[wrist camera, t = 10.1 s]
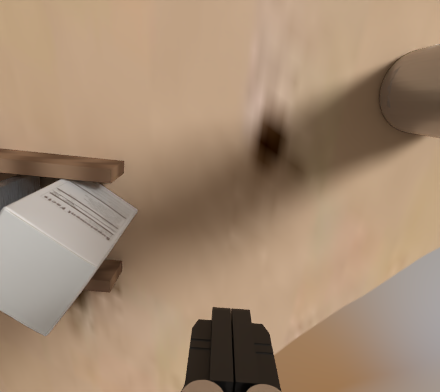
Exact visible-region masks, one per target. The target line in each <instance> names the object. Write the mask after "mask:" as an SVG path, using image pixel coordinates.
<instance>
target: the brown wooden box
mask: <svg viewBox="0 0 440 392" xmlns="http://www.w3.org/2000/svg"><path fill="white" fill-rule="evenodd" d="M0 172H1V173H11V174H21V175H31V176H42V177H52V178H62V179H72V180H82V181H93V182H103V183H112V182H113V181H114V180H116V179H117V178H118V177H119V176H121V175H122V174H123V173H124V161H117V160H107V159H98V158H88V157H78V156H68V155H58V154H48V153H38V152H28V151H18V150H8V149H0ZM121 272H122V261H116V260H104V261H103V263H102V264H101V265H100V267H99V268H98V270H97V271H96V272H95V274H94V275H93V277H92V278H91V279H90V281H89V282H88V283H87V285H86V286H85V288H84V289H83V290H89V291H101V292H110V291H111V289H112V288H113V286H114V284H115V282H116V280H117V279H118V277H119V275H120V273H121Z"/></svg>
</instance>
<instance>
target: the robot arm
mask: <svg viewBox="0 0 440 392" xmlns="http://www.w3.org/2000/svg"><path fill="white" fill-rule="evenodd" d="M380 107H381V110H382V113H383V115H384V117H385V118H386V120H387V121H388V122H389V123H390V124H391V125H392V126H393V127H395V128H396V129H398V130H400V131H403V132H407V133H413V134H419V135H425V136H430V137H436V138H440V44H438V45H434V46H430V47H426V48H422V49H418V50H415V51H412V52H410V53H408V54H406V55H404V56H402V57H401V58H400V59H399V60H398V61H396V62H395V63H394V64H393V65H392V67H391V68H390V69H389V70H388V72H387V74H386V76H385V77H384V79H383V82H382V85H381V89H380ZM181 392H281V388H280V384H279V379H278V374H277V369H276V364H275V359H274V355H273V349H272V346H271V339H270V334H269V332H268V331H267V330H266V328H265V327H264V326H263V324H254V323H251V315H250V310H244V309H230V308H217V307H213V309H212V320H200V319H199V320H198V321H197V322H196V324H195V325H194V326H193V328H192V334H191V342H190V349H189V357H188V364H187V372H186V380H185V385H184V387H183V389H182V391H181Z"/></svg>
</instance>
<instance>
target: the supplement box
mask: <svg viewBox="0 0 440 392" xmlns="http://www.w3.org/2000/svg"><path fill="white" fill-rule="evenodd" d="M137 212H138V210H137V209H136V208H135V207H133V206H132V205H130V204H129V203H127V202H126V201H124V200H123V199H122V198H120V197H119V196H117V195H116V194H114V193H113V192H111V191H110V190H108V189H107V188H105V187H104V186H102V185H101V184H99V183H98V182H93V181H82V180H72V179H60V180H58V181H56V182H54V183H52V184H50V185H48V186H46V187H44V188H42V189H40V190H38V191H36V192H34V193H32V194H30V195H28V196H26V197H24V198H21V199H19V200H17V201H15V202H13V203H11V204H9V205H7V206H5V207H3V209H2V210H1V212H0V311H2V312H4V313H5V314H7V315H9V316H10V317H12V318H14V319H15V320H17V321H19V322H20V323H22V324H24V325H25V326H27V327H29V328H30V329H32V330H34V331H36V332H38V333H40V334H42V335H44V336H47V335H48V334H49V333H50V332H51V330H52V329H53V328H54V326H55V325H56V324H57V323H58V321H59V320H60V319H61V318H62V316H63V315H64V314H65V313H66V311H67V310H68V309H69V307H70V306H71V305H72V304H73V302H74V301H75V300H76V298H77V297H78V296H79V294H80V293H81V292H82V290H83V289H84V288H85V286H86V285H87V283H88V282H89V281H90V279H91V278H92V277H93V275H94V274H95V272H96V271H97V270H98V268H99V267H100V265H101V264H102V263H103V261H104V260H105V258H106V257H107V255H108V254H109V253H110V251H111V250H112V248H113V247H114V245H115V244H116V242H117V241H118V239H119V238H120V237H121V235H122V234H123V232H124V231H125V229H126V228H127V226H128V225H129V223H130V222H131V220H132V219H133V217H134V216H135V215H136V213H137Z"/></svg>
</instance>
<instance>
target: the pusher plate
mask: <svg viewBox="0 0 440 392" xmlns="http://www.w3.org/2000/svg"><path fill="white" fill-rule="evenodd" d="M40 189H41V187H40V176H31V175H21V174H19V175H16V176H13V177H11V178H8V179H5V180H3V181H0V212H1V210H2V209H3V207H5V206H7V205H9V204H11V203H13V202H15V201H17V200H19V199H21V198H24V197H26V196H28V195H30V194H32V193H34V192H36V191H38V190H40Z"/></svg>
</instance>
